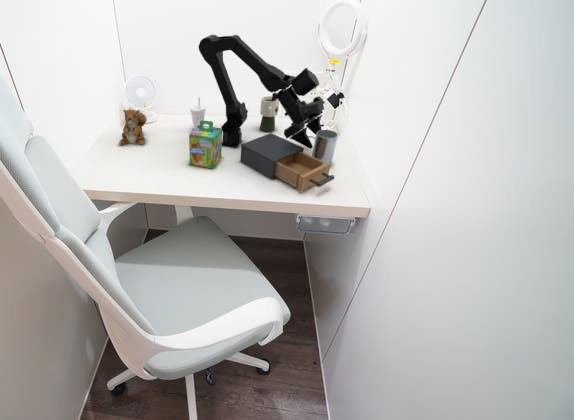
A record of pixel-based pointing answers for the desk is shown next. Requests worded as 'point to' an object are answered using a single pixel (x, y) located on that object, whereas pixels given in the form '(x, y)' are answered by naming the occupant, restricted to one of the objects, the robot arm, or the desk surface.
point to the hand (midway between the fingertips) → (317, 143)
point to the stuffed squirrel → (133, 127)
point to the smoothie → (197, 114)
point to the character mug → (268, 113)
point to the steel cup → (324, 145)
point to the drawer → (303, 171)
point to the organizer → (267, 153)
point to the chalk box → (205, 145)
